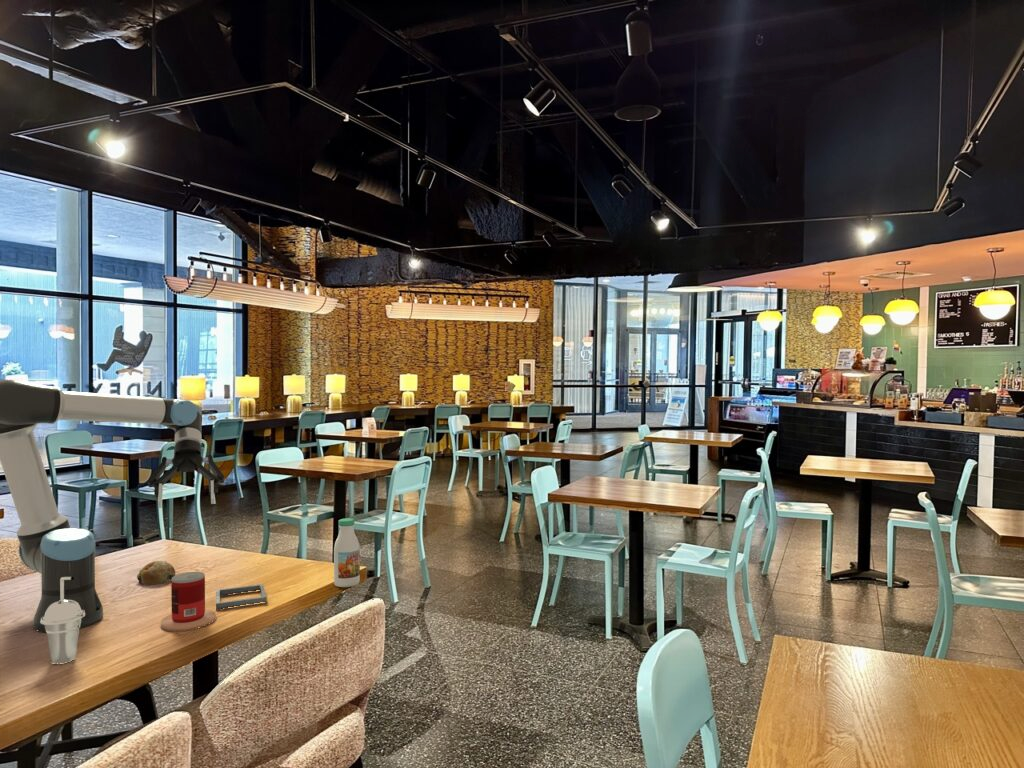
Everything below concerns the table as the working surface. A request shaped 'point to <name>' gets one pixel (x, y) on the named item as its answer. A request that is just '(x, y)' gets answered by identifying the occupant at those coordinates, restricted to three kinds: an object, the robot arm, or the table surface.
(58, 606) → the cup with straw
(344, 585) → the milk bottle
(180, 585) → the canned food
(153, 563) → the bread roll
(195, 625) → the terracotta plate
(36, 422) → the robot arm
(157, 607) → the table surface
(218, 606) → the square metal frame
